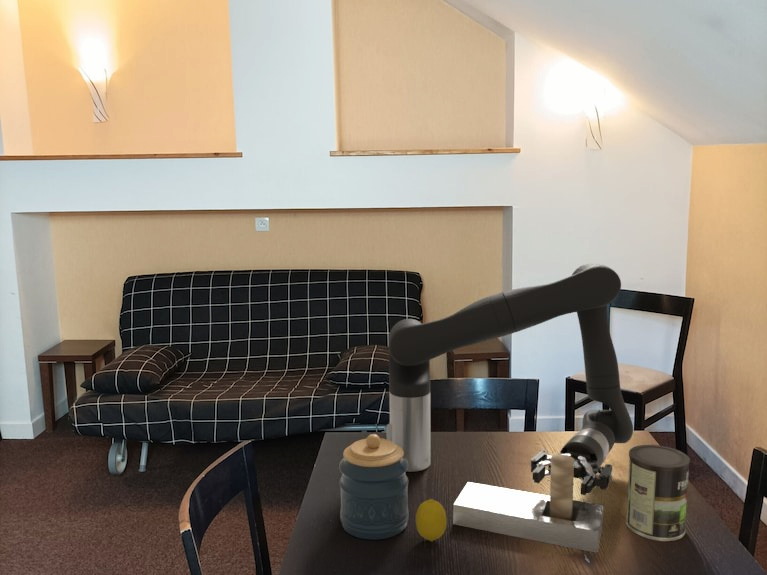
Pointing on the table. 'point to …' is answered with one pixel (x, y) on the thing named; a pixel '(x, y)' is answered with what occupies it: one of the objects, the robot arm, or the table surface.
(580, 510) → the block
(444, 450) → the table surface
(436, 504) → the lemon
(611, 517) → the table surface
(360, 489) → the canister
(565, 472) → the peg
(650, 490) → the coffee can
